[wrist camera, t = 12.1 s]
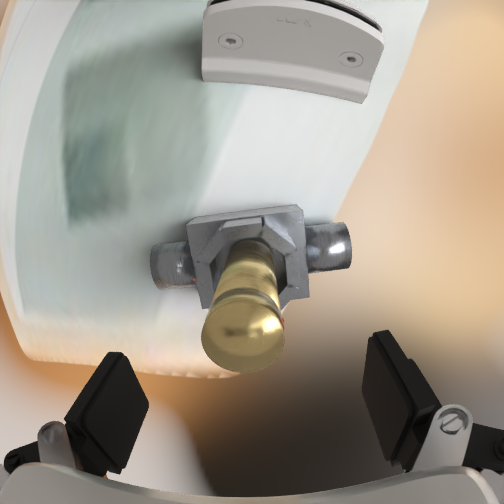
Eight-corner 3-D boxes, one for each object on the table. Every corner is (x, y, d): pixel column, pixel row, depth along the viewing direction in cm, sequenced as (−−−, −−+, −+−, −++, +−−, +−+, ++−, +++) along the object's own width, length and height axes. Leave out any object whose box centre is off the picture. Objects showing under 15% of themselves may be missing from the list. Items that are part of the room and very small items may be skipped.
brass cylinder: (270, 237, 24) (280, 300, 12) (275, 281, 25) (286, 369, 14) (223, 242, 24) (193, 308, 13) (230, 285, 25) (210, 374, 14)
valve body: (335, 200, 27) (360, 211, 20) (339, 307, 30) (358, 341, 23) (158, 223, 28) (130, 239, 21) (181, 324, 31) (164, 360, 24)
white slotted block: (199, 81, 24) (182, 8, 14) (208, 50, 24) (197, -20, 14) (365, 104, 24) (408, 44, 14) (362, 72, 24) (396, 12, 14)
